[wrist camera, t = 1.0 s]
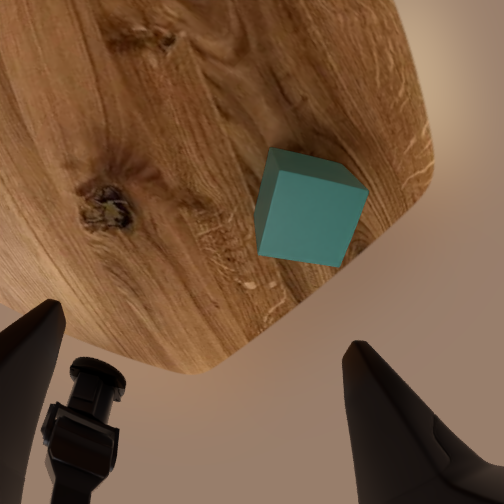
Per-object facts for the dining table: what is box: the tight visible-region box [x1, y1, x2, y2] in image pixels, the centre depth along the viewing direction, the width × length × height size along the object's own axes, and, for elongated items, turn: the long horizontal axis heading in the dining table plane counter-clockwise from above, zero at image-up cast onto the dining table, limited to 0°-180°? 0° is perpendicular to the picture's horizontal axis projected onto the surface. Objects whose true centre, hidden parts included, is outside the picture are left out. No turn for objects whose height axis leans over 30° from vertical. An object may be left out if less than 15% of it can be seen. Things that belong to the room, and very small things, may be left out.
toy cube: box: [254, 147, 369, 267], centre depth 18 cm, size 5×5×5 cm
